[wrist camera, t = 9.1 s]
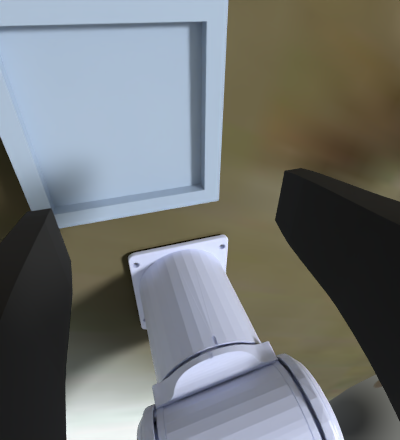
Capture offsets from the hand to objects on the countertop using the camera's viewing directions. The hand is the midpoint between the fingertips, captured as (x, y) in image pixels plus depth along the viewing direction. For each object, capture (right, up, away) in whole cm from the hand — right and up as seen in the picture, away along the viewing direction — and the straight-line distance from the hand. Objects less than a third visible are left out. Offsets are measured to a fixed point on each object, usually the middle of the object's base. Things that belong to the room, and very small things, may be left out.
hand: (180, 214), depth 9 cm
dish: (-4, +6, +7) cm, 10 cm away
